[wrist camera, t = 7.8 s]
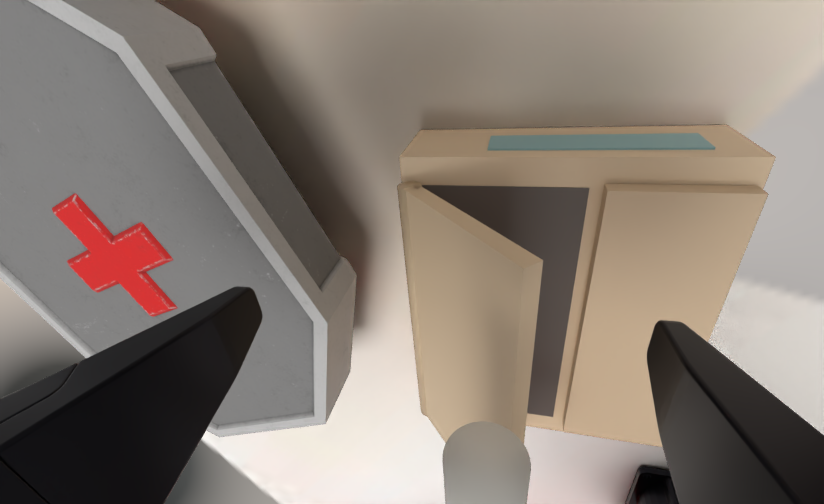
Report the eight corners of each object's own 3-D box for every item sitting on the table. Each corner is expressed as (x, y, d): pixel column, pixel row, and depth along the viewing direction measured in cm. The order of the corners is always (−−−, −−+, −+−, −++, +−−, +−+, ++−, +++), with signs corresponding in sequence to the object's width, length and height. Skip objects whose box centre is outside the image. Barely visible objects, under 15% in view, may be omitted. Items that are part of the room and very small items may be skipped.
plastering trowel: (577, 596, 16) (475, 685, 14) (432, 399, 24) (356, 438, 23) (664, 328, 9) (477, 441, 7) (414, 179, 17) (300, 211, 15)
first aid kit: (424, 317, 26) (161, -134, 17) (393, 415, 20) (-51, -207, 11) (240, 360, 34) (-17, 65, 24) (176, 442, 28) (-202, 90, 18)
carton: (644, 387, 25) (666, 459, 21) (436, 361, 28) (421, 420, 24) (730, 122, 17) (792, 162, 13) (420, 128, 20) (393, 161, 16)
